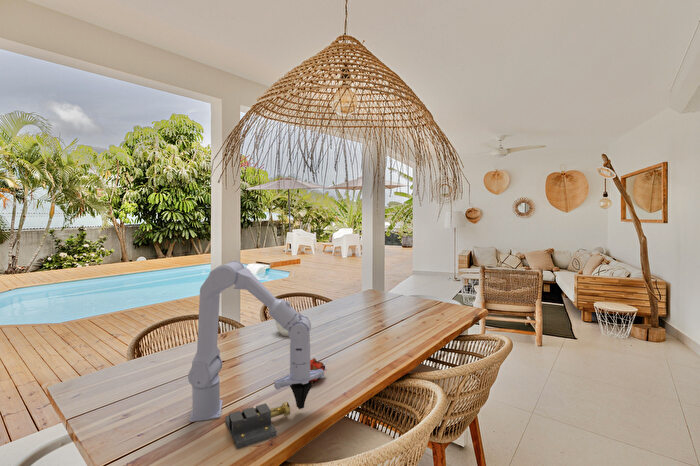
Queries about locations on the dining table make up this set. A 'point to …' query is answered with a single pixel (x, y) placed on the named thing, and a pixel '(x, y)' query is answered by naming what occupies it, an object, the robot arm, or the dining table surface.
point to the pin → (280, 410)
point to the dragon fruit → (316, 367)
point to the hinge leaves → (250, 425)
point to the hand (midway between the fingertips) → (300, 407)
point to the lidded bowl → (282, 329)
